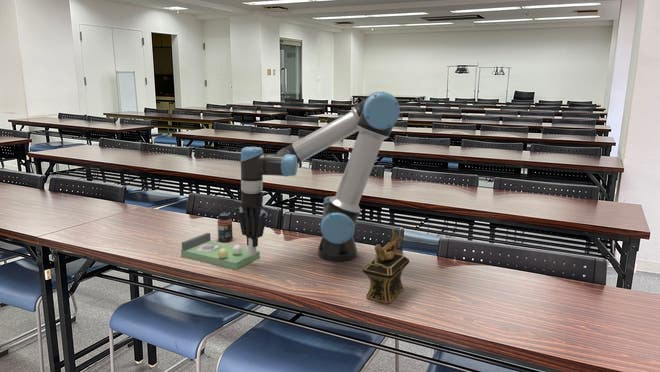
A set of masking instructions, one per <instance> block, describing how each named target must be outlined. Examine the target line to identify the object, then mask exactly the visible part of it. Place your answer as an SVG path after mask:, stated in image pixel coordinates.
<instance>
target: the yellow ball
mask: <svg viewBox="0 0 660 372" xmlns="http://www.w3.org/2000/svg"><path fill="white" fill-rule="evenodd" d="M218 256H219V257H220V258H226V257H227V256H228V251H227V249H225V248H222V249H220V250H219V251H218Z"/></svg>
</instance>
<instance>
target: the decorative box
mask: <svg viewBox="0 0 660 372" xmlns="http://www.w3.org/2000/svg"><path fill="white" fill-rule="evenodd" d="M391 231H392V236H391V239H390V242H388V243H387V244H385V245H384V246H383V247H382V245H381V244H376V245H375V246H374V251H375V253H376V254H375V257H374V259H372V260H371V261H370V262H368V264H367V265H365V266H364V267H363V269H362V272H363V274H364V275H365V276H367V278H368V279H369V282H370V286H369V287H370V288H369V290H368V292H367V293H366V296H365V298H366V297H367V298H369V299H368V300H370V299H372V300H371V301H374V300H376V301H375V302H378V301H379V302H378V303H381V302H383V303H382V304H385V303H390V304H391V303H392V302H393V301H395V300H396V298H398V296H399V295H400V294H401V293H402V292H403V291H404V290H405V289H404V288H405V287H404V286H403V284H402V273H403V271H404V270H405V268H406V267H407V266H408V264H410V258H408V257H406V256H405V255H403V254H398V253H396V250H397V245H398V244H399V243H401V242H402V241H403V238H404V235H401V236H398V234H397V233H396V232H395V230H394V228H392V229H391ZM367 298H366V299H367Z"/></svg>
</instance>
